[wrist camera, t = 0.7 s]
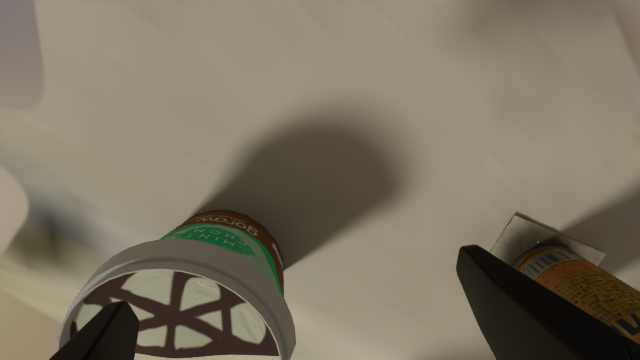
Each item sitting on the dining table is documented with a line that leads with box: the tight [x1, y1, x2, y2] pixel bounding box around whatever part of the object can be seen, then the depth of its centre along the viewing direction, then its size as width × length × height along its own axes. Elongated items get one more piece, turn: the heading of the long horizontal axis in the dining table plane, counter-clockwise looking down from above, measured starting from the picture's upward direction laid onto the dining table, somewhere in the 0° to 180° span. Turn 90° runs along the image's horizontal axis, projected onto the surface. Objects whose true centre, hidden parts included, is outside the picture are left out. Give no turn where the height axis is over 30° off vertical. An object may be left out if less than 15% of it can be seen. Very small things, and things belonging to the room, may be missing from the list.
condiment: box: [491, 216, 640, 344], centre depth 21 cm, size 7×8×12 cm
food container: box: [57, 210, 296, 360], centre depth 21 cm, size 12×6×10 cm, turn 88°
